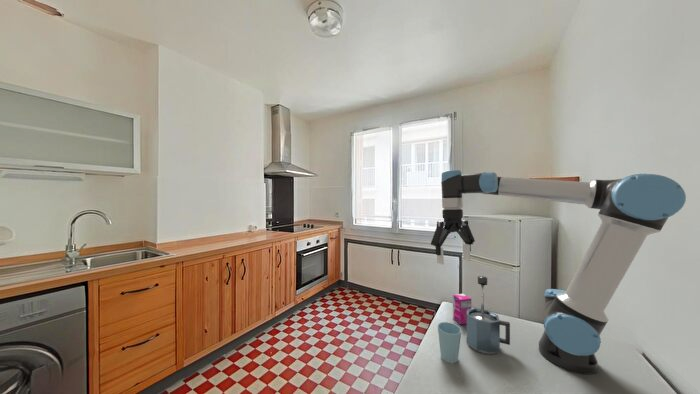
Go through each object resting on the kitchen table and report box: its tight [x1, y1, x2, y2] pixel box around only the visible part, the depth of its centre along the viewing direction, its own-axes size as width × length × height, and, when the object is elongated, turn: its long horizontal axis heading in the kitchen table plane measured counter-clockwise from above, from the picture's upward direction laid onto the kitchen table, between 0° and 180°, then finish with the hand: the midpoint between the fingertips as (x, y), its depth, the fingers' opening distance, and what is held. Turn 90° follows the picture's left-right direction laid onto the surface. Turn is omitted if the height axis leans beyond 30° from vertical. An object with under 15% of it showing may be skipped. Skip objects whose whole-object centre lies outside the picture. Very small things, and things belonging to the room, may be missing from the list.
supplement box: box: [452, 293, 472, 326], centre depth 106 cm, size 6×6×12 cm
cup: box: [437, 321, 462, 364], centre depth 81 cm, size 8×8×10 cm
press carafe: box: [466, 307, 511, 356], centre depth 88 cm, size 14×11×12 cm
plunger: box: [470, 275, 495, 322], centre depth 88 cm, size 8×8×16 cm
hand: (454, 261), depth 93 cm, fingers open, 13 cm apart
